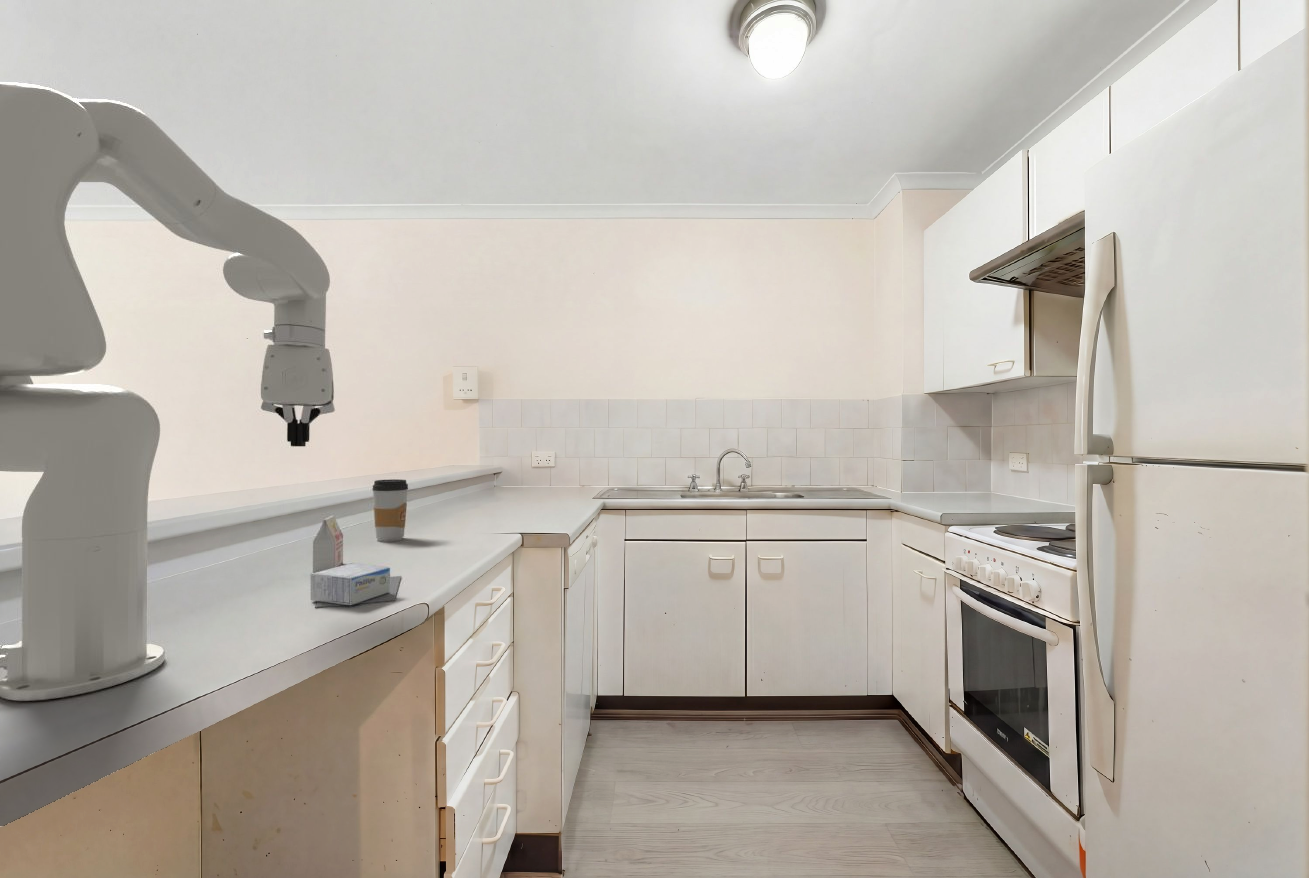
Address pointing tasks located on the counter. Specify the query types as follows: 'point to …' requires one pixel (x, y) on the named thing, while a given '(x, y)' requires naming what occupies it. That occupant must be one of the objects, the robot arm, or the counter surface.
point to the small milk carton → (328, 546)
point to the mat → (383, 598)
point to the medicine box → (350, 583)
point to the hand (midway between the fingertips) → (298, 446)
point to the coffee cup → (390, 509)
